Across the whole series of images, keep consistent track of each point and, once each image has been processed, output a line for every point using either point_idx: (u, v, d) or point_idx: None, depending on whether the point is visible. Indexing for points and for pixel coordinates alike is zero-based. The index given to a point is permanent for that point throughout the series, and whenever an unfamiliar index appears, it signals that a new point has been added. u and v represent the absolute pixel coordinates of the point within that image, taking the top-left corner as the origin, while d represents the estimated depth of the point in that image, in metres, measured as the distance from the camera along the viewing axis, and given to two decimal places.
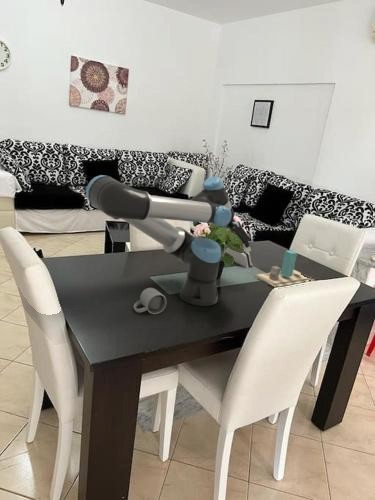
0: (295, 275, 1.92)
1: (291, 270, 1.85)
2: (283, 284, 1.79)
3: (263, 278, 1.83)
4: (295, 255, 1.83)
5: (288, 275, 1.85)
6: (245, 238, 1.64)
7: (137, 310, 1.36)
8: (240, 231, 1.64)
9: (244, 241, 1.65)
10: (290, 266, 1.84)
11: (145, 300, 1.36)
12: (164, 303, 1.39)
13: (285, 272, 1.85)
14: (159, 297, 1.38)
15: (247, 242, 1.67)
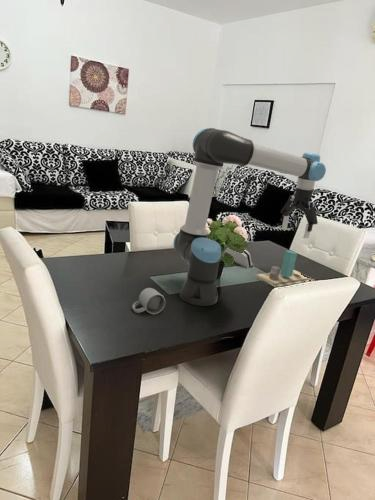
0: (295, 275, 1.92)
1: (291, 270, 1.85)
2: (283, 284, 1.79)
3: (263, 278, 1.83)
4: (295, 255, 1.83)
5: (288, 275, 1.85)
6: (314, 219, 1.70)
7: (136, 310, 1.36)
8: (313, 211, 1.71)
9: (311, 222, 1.71)
10: (290, 266, 1.84)
11: (144, 300, 1.36)
12: (163, 303, 1.39)
13: (285, 272, 1.85)
14: (158, 297, 1.38)
15: (312, 226, 1.73)
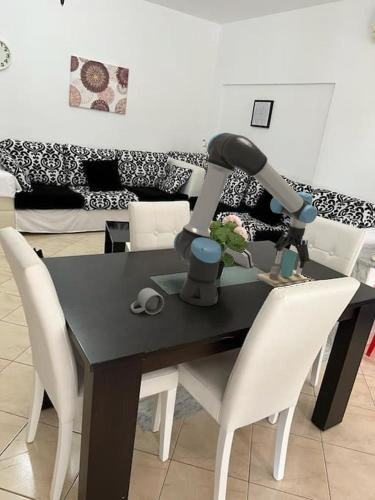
0: (295, 275, 1.92)
1: (291, 270, 1.85)
2: (283, 284, 1.79)
3: (263, 278, 1.83)
4: (295, 255, 1.83)
5: (288, 275, 1.85)
6: (306, 257, 1.76)
7: (134, 310, 1.36)
8: (305, 249, 1.76)
9: (304, 259, 1.76)
10: (290, 266, 1.84)
11: (142, 300, 1.36)
12: (161, 303, 1.39)
13: (285, 272, 1.85)
14: (156, 297, 1.38)
15: (304, 263, 1.78)
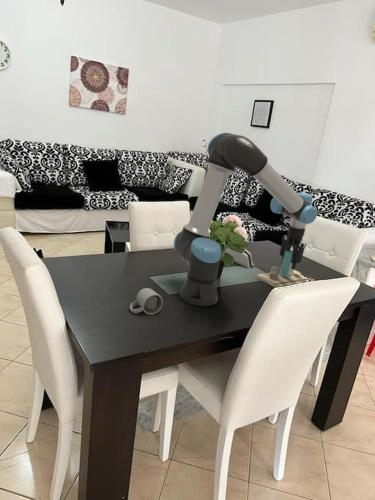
0: (295, 275, 1.92)
1: None
2: (283, 284, 1.79)
3: (263, 278, 1.83)
4: None
5: (288, 275, 1.85)
6: (299, 259, 1.80)
7: (133, 310, 1.36)
8: (301, 252, 1.78)
9: (295, 260, 1.80)
10: None
11: (141, 300, 1.36)
12: (160, 303, 1.39)
13: (285, 272, 1.85)
14: (155, 297, 1.38)
15: (295, 264, 1.83)
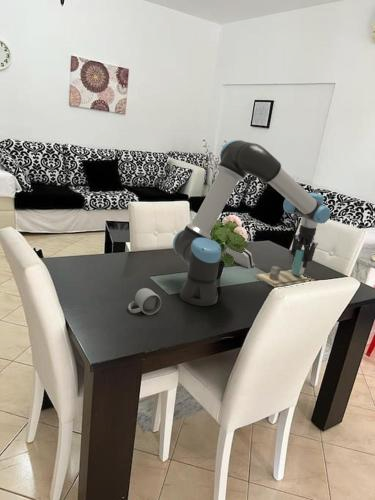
0: (295, 275, 1.92)
1: None
2: (283, 284, 1.79)
3: (263, 278, 1.83)
4: None
5: None
6: (310, 258, 1.84)
7: (132, 311, 1.35)
8: (312, 250, 1.83)
9: (307, 259, 1.85)
10: None
11: (140, 300, 1.36)
12: (159, 303, 1.38)
13: (296, 270, 1.89)
14: (154, 297, 1.37)
15: (306, 263, 1.87)
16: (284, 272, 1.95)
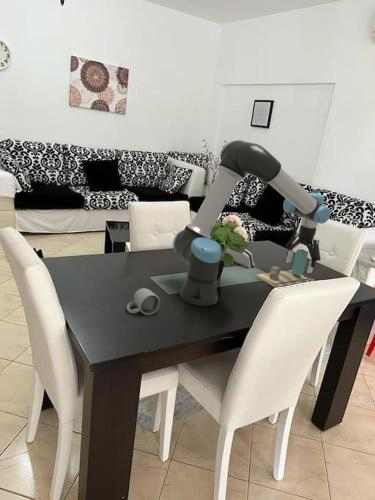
0: (295, 275, 1.92)
1: (302, 269, 1.90)
2: (283, 284, 1.79)
3: (263, 278, 1.83)
4: (306, 254, 1.88)
5: (299, 273, 1.90)
6: (317, 256, 1.80)
7: (130, 311, 1.35)
8: (316, 248, 1.81)
9: (315, 258, 1.81)
10: (301, 265, 1.88)
11: (138, 301, 1.35)
12: (157, 304, 1.38)
13: (296, 270, 1.89)
14: (152, 298, 1.37)
15: (315, 262, 1.83)
16: (284, 272, 1.95)
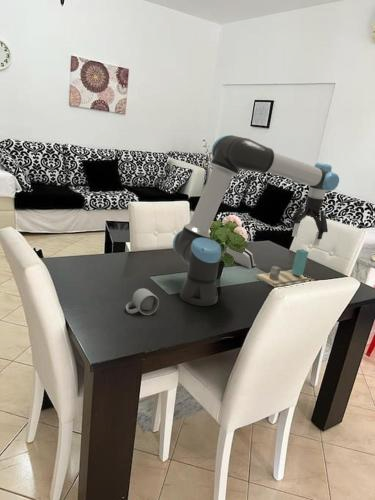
0: (295, 275, 1.92)
1: (302, 269, 1.90)
2: (283, 284, 1.79)
3: (263, 278, 1.83)
4: (306, 254, 1.88)
5: (299, 273, 1.90)
6: (325, 227, 1.76)
7: (129, 311, 1.35)
8: (323, 219, 1.76)
9: (322, 230, 1.76)
10: (301, 265, 1.88)
11: (137, 301, 1.35)
12: (156, 304, 1.38)
13: (296, 270, 1.89)
14: (151, 298, 1.37)
15: (322, 234, 1.78)
16: (284, 272, 1.95)
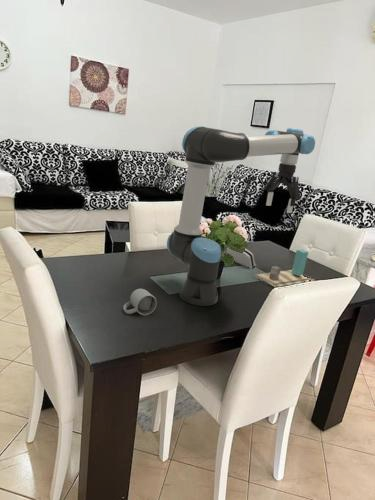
0: (295, 275, 1.92)
1: (302, 269, 1.90)
2: (283, 284, 1.79)
3: (263, 278, 1.83)
4: (306, 254, 1.88)
5: (299, 273, 1.90)
6: (297, 193, 1.73)
7: (127, 311, 1.34)
8: (295, 185, 1.73)
9: (294, 196, 1.74)
10: (301, 265, 1.88)
11: (135, 301, 1.35)
12: (154, 304, 1.37)
13: (296, 270, 1.89)
14: (149, 298, 1.36)
15: (294, 200, 1.76)
16: (284, 272, 1.95)
